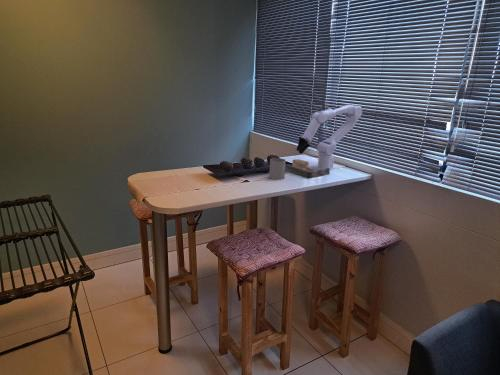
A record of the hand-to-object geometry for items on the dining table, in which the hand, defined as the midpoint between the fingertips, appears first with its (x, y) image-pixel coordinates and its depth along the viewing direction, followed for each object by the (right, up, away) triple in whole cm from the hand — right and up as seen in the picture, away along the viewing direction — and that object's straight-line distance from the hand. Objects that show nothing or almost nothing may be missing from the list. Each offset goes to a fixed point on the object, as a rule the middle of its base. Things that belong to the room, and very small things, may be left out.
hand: (299, 151), depth 200 cm
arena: (+3, -12, +1) cm, 12 cm away
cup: (-14, -15, -11) cm, 23 cm away
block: (+1, -10, +6) cm, 11 cm away
